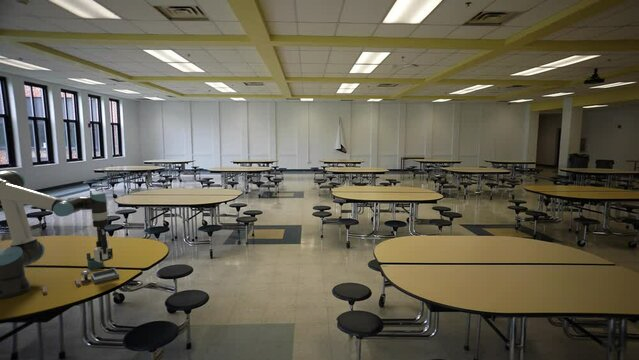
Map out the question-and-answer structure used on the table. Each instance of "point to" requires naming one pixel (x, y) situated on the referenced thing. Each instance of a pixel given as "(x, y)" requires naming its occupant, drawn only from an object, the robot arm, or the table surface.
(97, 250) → the medicine bottle
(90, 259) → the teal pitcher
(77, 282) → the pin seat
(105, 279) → the tray
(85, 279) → the knob
